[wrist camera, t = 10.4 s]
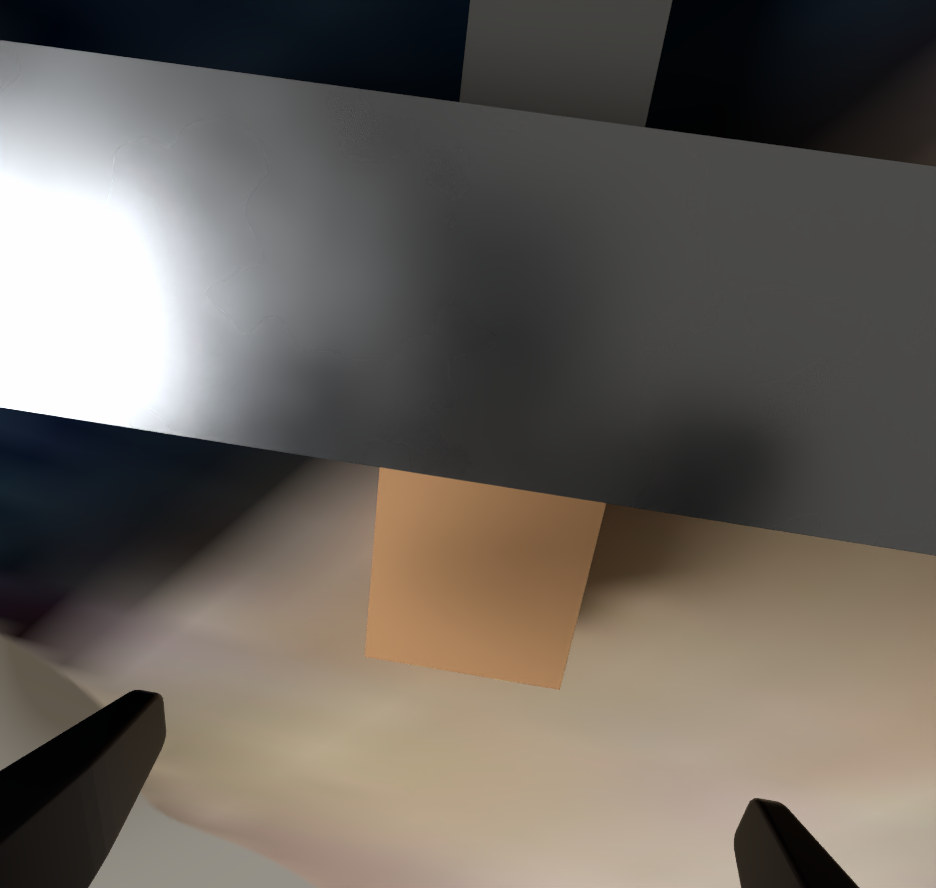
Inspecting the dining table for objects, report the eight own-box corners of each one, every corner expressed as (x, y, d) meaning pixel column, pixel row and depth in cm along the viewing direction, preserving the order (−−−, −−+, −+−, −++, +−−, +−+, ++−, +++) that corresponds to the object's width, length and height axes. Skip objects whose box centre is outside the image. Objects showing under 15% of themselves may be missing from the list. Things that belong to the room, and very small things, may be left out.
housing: (174, 111, 12) (-76, 30, 7) (926, 215, 12) (1242, 208, 7) (186, 340, 14) (-6, 406, 9) (836, 439, 13) (1028, 570, 8)
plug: (483, -303, 10) (462, -588, 6) (745, -276, 9) (868, -552, 6) (394, 601, 16) (361, 697, 13) (544, 626, 16) (550, 729, 13)
